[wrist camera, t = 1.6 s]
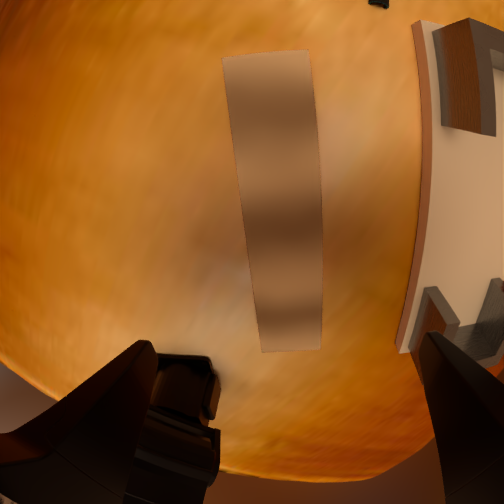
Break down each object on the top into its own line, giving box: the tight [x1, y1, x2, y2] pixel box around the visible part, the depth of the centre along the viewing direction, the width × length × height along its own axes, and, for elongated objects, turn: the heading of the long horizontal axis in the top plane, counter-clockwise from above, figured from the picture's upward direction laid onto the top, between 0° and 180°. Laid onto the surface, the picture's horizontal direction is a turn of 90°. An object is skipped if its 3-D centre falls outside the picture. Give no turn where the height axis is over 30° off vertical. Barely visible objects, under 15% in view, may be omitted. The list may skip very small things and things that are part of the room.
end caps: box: [408, 18, 504, 385], centre depth 14 cm, size 25×9×4 cm, turn 6°
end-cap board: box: [395, 20, 504, 354], centre depth 17 cm, size 26×10×2 cm, turn 6°
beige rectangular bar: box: [222, 50, 323, 352], centre depth 18 cm, size 20×4×4 cm, turn 7°
